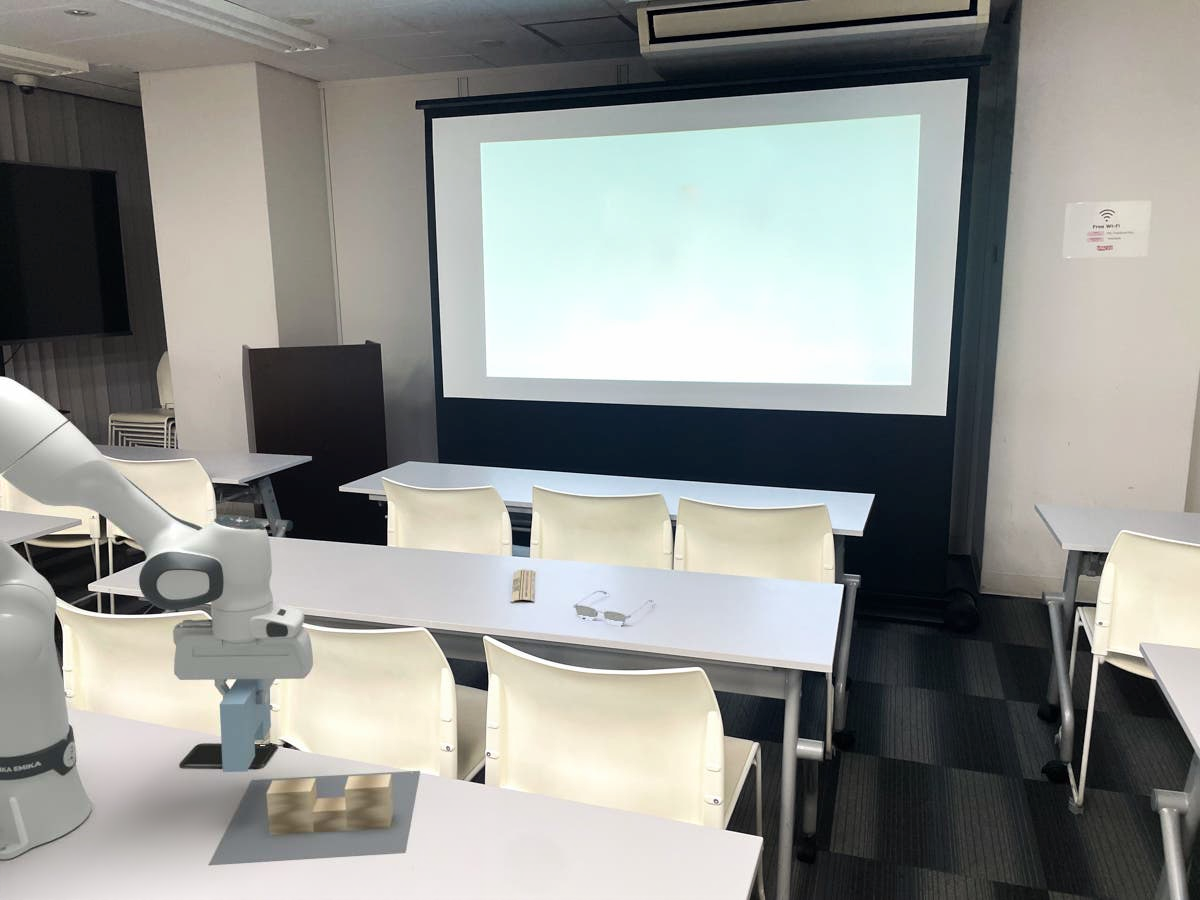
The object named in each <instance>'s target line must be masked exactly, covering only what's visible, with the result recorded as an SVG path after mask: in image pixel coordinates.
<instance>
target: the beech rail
mask: <svg viewBox="0 0 1200 900" xmlns="http://www.w3.org/2000/svg"><path fill="white" fill-rule="evenodd" d="M266 795H267V807H268V819H269V831H270V835H281V834H298V833H315V832H331V831H348V830H365V829H381V828H390V827H391V823H392V818H393V799H392V780H391V774H384V775H366V776H349V777H348V780H347V783H346V786H345V797H337V798H319V799H317V790H316V778H310V779H292V780H273V781H272V783H271V785H270V787H269V789H268V791H267V793H266Z"/></svg>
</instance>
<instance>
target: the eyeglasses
mask: <svg viewBox="0 0 1200 900" xmlns="http://www.w3.org/2000/svg"><path fill="white" fill-rule="evenodd" d="M598 592H600V593H602V594H604V595H605V594H607V593H608V592H607V591H604V590H596V591H594V592H593V593H591V594H589V595H588V596H586V597H585V598H583V599H582V600H581V601H579V602H577V603H575V604H573V606H572V607H573V608H575V611H576V614H577V616H578V615H583V616H589V617H598V614H599V613H601V614H603V616H604V620H605V619H609V620H614V621H622V622H624V623H625V622H626V621H627V619H629V618H631V616H632V615H634V613H637V612H638V611H639V610H641V608H643V607H644V606H645V605H647V604H648V603H649V602H651V603H652V601H653V600H652V599H649V600H647V601H645V603H644V604H643V605H642V606H641V607H639V608H638V609H637V610H635V611H634V612H633V613H631V614H628V615H625V614H624V613H622V612H618V611H611V610H607V611H601V610H597V609H595V607H594V608H593V607H591V606H587V605H583V604H580V603H581V602H583V601H584V600H586V599H587V598H588V597H590V596H592V595H594V594H596V593H598Z"/></svg>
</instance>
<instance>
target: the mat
mask: <svg viewBox="0 0 1200 900" xmlns="http://www.w3.org/2000/svg"><path fill="white" fill-rule="evenodd" d="M411 772H412V773H411ZM384 774H391V780H392V799H393V818H392V823H391V827H390V828H381V829H365V830H348V831H331V832H315V833H298V834H281V835H270V831H269V819H268V807H267V795H266V793H267V791H268V789H269V787H270V785H271V783H272V781H273V780H292V779H310V778H316V790H317V799H319V798H337V797H345V786H346V783H347V780H348V777H349V776H366V775H384ZM420 775H421V770H410V771H408V770H407V771H391V772H374V773H373V772H372V773H356V774H338V775H337V774H335V775H319V776H301V777H300V776H298V777H297V776H296V777H283V778H281V777H280V778H262V779H261V778H260V779H251V781H250V782H249V785H248V787H247V789H246V790H245V793H244V795H242V798H241V800H240V803H238V806H237V808H236V810H235V812H234V814H233V816H232V818H231V820H230V822H229V824H228V826H227V828H226V830H225V832H224V833H223V836H222V837H221V839H220V841H219V843H218V845H217V847H216V848H215V851H214V852H213V855H212V857H211V859H210V861H209V862H208V866H219V865H222V866H223V865H233V864H235V865H236V864H250V863H251V864H252V863H264V862H267V863H268V862H282V861H284V862H285V861H299V860H300V861H301V860H314V859H327V858H329V859H331V858H333V859H334V858H345V857H347V858H349V857H360V856H361V857H362V856H363V857H364V856H377V855H378V856H380V855H394V854H406V852H407V847H408V840H409V836H410V830H411V823H412V818H413V813H414V808H415V804H416V803H415V802H416V796H417V791H418V786H419V780H420Z"/></svg>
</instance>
